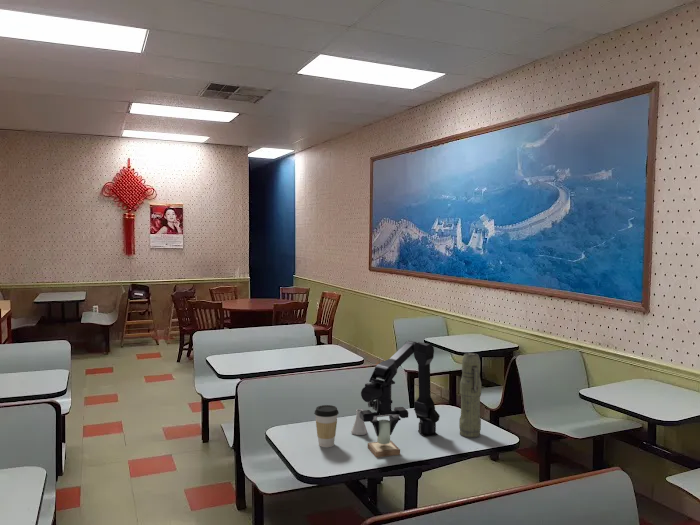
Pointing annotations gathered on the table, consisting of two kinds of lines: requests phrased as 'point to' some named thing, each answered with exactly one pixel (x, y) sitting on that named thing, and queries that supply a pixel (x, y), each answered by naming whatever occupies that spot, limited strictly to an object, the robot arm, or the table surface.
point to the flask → (359, 425)
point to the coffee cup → (326, 424)
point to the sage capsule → (384, 432)
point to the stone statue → (470, 396)
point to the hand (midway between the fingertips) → (383, 435)
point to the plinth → (383, 449)
